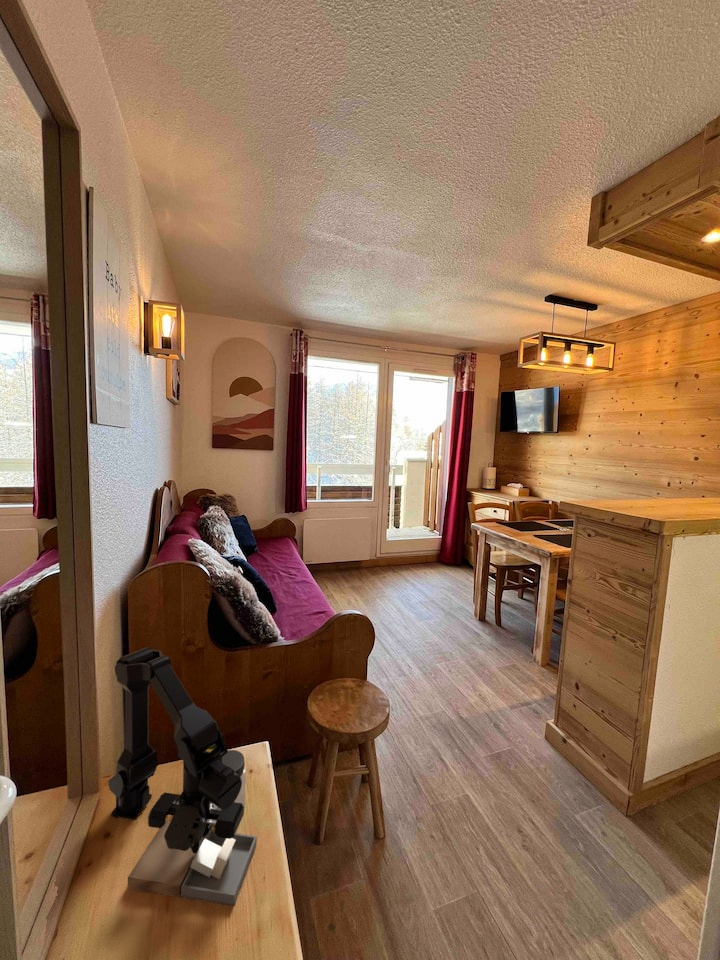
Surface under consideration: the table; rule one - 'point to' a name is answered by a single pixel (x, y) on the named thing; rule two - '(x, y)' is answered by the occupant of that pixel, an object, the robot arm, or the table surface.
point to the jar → (236, 771)
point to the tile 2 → (223, 857)
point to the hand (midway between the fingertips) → (195, 851)
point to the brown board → (161, 867)
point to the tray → (231, 877)
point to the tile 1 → (206, 857)
